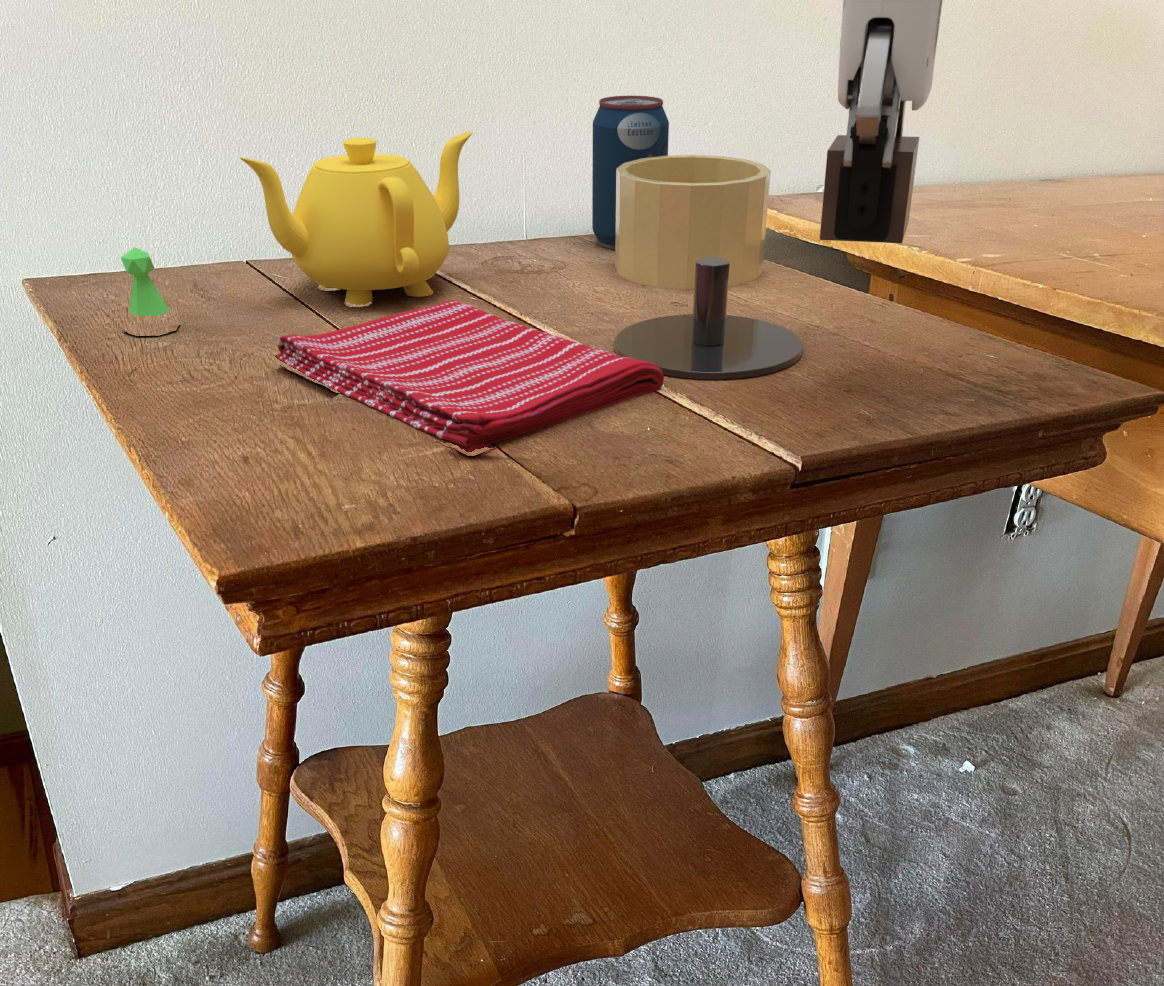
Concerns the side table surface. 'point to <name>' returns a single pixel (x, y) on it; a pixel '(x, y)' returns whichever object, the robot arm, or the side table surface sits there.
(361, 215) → the teapot
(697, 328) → the lid
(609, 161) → the soda can
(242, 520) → the side table surface
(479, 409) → the dish towel
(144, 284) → the game piece
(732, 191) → the pot
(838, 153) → the block
